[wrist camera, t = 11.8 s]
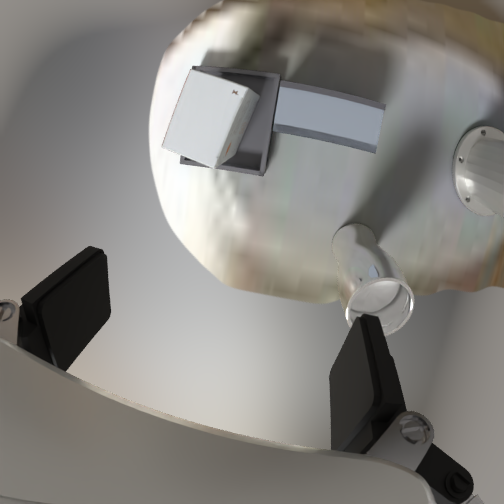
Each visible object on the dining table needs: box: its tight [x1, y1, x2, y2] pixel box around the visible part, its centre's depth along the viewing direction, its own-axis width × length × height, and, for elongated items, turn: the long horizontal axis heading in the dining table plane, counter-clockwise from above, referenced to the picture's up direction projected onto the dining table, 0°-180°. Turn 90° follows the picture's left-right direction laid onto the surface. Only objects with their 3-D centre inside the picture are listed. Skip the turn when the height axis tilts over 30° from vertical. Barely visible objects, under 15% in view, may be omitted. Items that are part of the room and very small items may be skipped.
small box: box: [162, 69, 260, 169], centre depth 29 cm, size 8×6×10 cm
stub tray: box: [180, 66, 281, 176], centre depth 33 cm, size 10×12×2 cm
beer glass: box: [332, 223, 414, 336], centre depth 32 cm, size 7×7×15 cm
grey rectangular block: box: [273, 80, 386, 153], centre depth 29 cm, size 10×5×8 cm, turn 82°
